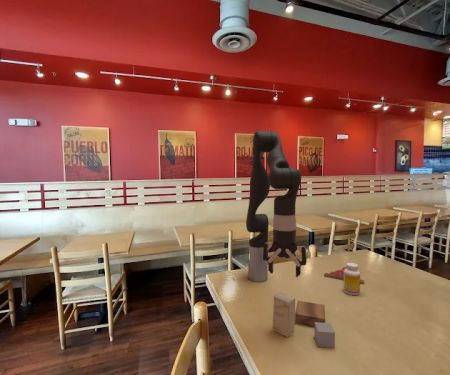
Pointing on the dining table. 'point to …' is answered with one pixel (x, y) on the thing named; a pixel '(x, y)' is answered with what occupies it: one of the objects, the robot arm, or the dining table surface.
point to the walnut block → (309, 313)
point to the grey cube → (324, 334)
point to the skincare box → (284, 314)
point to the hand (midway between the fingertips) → (284, 274)
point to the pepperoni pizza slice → (339, 275)
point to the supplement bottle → (351, 279)
